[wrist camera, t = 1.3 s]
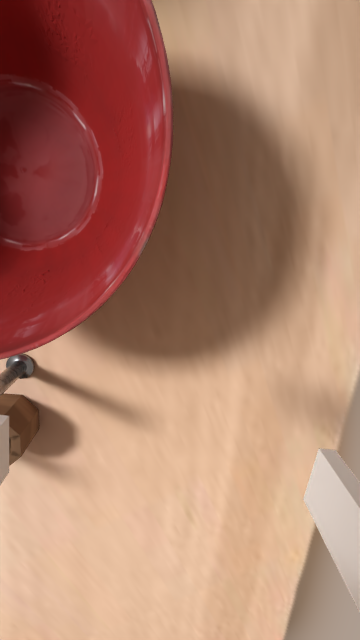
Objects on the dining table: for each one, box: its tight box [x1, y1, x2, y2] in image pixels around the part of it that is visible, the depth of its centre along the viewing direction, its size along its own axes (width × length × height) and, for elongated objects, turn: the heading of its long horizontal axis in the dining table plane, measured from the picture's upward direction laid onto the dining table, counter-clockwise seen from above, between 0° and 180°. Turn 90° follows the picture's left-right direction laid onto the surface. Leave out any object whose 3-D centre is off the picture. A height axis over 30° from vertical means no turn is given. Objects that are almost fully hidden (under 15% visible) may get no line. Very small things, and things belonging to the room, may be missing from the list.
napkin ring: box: [0, 394, 39, 466], centre depth 36 cm, size 6×6×5 cm
